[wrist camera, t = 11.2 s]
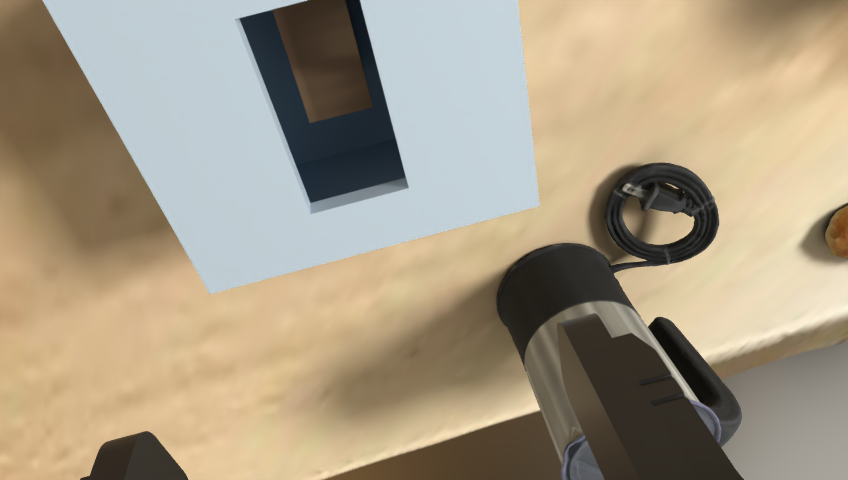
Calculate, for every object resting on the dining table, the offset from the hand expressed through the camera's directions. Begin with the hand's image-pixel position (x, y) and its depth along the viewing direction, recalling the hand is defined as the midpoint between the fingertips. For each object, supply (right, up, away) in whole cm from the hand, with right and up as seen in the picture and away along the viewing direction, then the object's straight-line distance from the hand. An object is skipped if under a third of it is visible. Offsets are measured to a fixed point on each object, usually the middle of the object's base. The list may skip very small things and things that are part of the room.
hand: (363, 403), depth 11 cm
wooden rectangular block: (-3, +11, +18) cm, 21 cm away
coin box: (-4, +14, +20) cm, 25 cm away
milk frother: (+13, +2, +32) cm, 34 cm away
